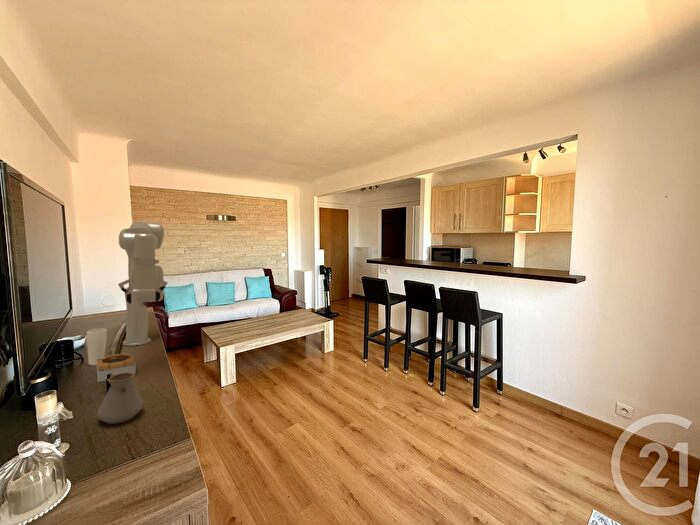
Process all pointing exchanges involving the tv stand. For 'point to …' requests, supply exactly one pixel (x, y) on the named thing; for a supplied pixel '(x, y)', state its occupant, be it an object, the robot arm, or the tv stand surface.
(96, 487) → the tv stand surface
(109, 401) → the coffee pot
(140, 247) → the robot arm
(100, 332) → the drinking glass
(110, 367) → the octagon ring knob plate
